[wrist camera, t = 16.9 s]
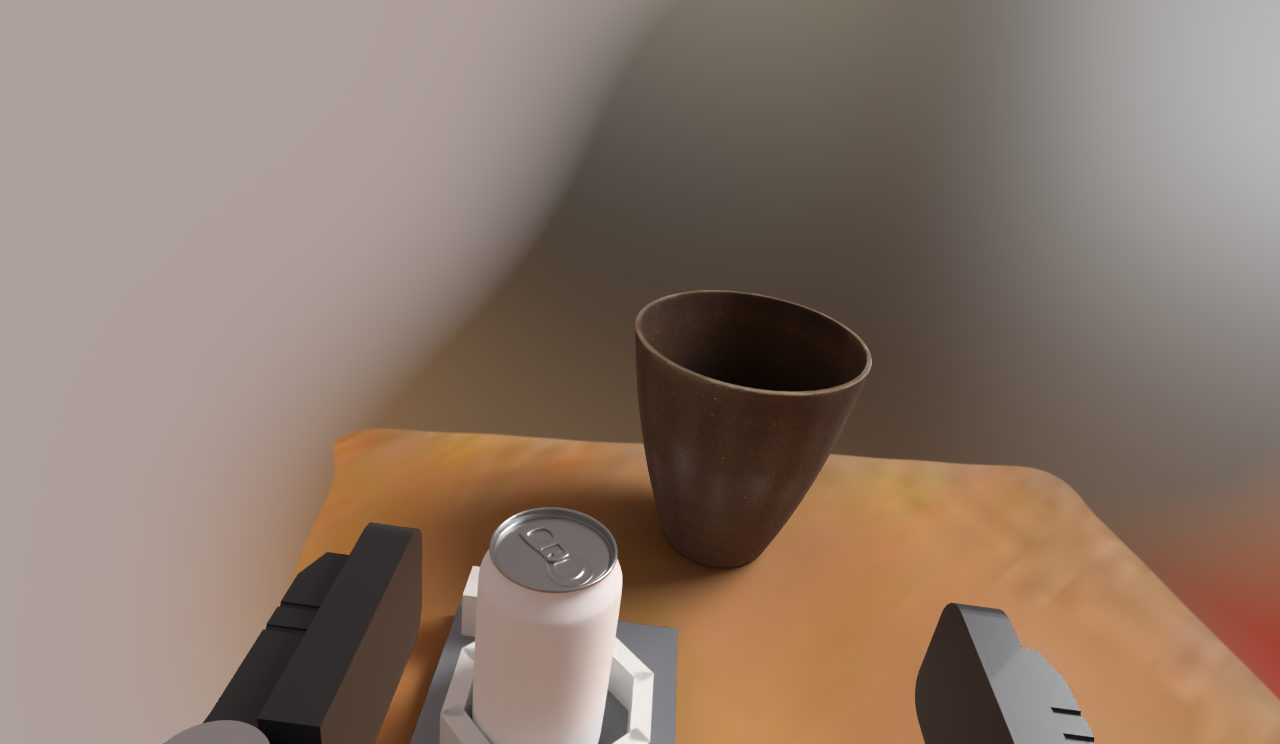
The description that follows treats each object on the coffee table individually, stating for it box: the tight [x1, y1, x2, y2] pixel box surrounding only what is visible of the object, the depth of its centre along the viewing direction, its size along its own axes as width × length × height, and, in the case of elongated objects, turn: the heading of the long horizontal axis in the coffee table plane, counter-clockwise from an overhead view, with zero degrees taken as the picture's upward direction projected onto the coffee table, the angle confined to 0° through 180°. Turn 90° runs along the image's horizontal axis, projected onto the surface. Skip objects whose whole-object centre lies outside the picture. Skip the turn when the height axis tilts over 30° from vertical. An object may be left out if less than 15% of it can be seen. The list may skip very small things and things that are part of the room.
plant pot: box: [635, 290, 872, 567], centre depth 56 cm, size 15×15×16 cm
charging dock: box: [410, 566, 677, 744], centre depth 41 cm, size 13×16×4 cm
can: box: [472, 507, 622, 744], centre depth 39 cm, size 6×6×12 cm
